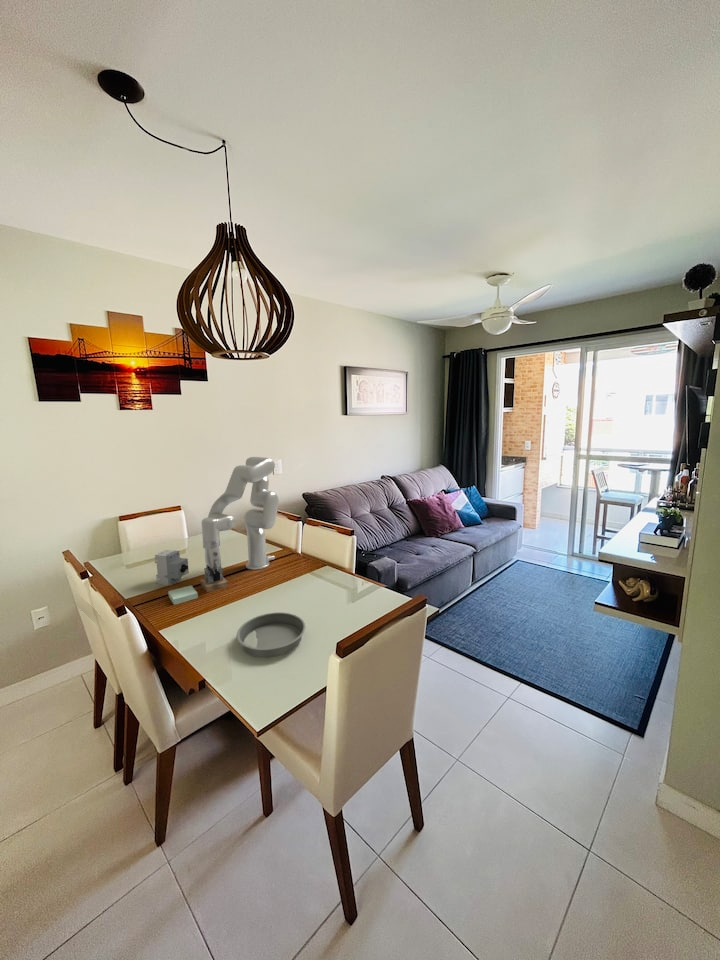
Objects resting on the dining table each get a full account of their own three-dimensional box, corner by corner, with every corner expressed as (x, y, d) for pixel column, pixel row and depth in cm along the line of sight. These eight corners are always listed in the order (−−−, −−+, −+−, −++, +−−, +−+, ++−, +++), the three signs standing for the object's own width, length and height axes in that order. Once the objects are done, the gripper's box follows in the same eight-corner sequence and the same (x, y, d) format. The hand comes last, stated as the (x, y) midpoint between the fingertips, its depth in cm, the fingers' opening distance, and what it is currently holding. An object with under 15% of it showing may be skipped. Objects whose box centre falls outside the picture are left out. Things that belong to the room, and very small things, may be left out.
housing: (219, 577, 188) (218, 564, 187) (223, 580, 184) (222, 567, 183) (205, 581, 183) (204, 568, 182) (208, 584, 180) (207, 571, 178)
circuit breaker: (182, 586, 184) (180, 557, 181) (156, 583, 186) (154, 554, 184) (192, 580, 191) (190, 551, 188) (167, 577, 194) (164, 549, 191)
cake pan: (274, 616, 157) (273, 605, 156) (319, 635, 143) (319, 624, 142) (223, 645, 137) (222, 633, 136) (269, 670, 123) (269, 658, 122)
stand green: (191, 590, 179) (191, 585, 179) (197, 598, 172) (197, 592, 171) (168, 596, 173) (168, 591, 173) (174, 604, 166) (173, 599, 165)
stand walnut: (221, 579, 191) (221, 575, 191) (228, 586, 183) (228, 581, 183) (200, 585, 185) (200, 580, 184) (207, 592, 177) (206, 587, 177)
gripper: (225, 546, 176) (227, 581, 179) (213, 537, 189) (215, 570, 192) (209, 549, 171) (211, 585, 174) (197, 540, 185) (200, 573, 187)
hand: (213, 577), depth 183 cm, fingers open, 9 cm apart
